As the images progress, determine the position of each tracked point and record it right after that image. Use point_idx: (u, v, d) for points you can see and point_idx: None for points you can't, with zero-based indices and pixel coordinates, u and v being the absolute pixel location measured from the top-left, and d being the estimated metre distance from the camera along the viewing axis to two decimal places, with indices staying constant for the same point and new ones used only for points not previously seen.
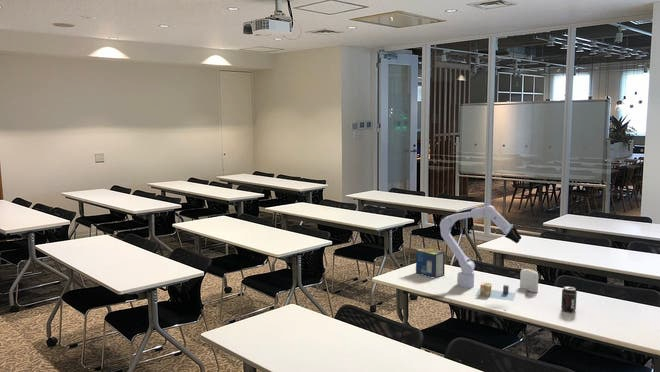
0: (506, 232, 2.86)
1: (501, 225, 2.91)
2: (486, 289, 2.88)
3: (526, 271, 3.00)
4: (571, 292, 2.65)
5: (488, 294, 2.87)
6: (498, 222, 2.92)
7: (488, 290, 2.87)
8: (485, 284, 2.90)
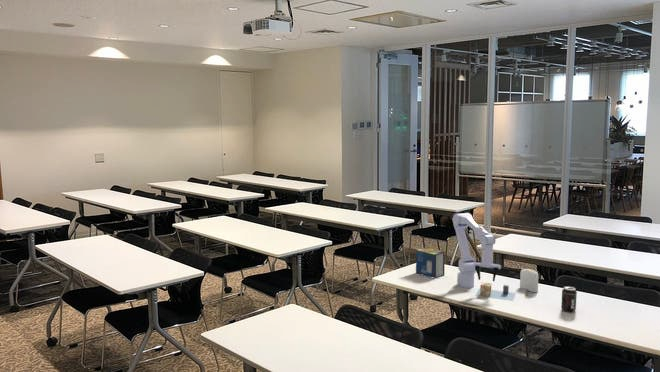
0: (473, 264, 2.92)
1: None
2: (486, 289, 2.88)
3: (526, 271, 3.00)
4: (572, 292, 2.65)
5: (488, 294, 2.87)
6: (482, 254, 2.87)
7: (488, 290, 2.87)
8: (485, 284, 2.90)
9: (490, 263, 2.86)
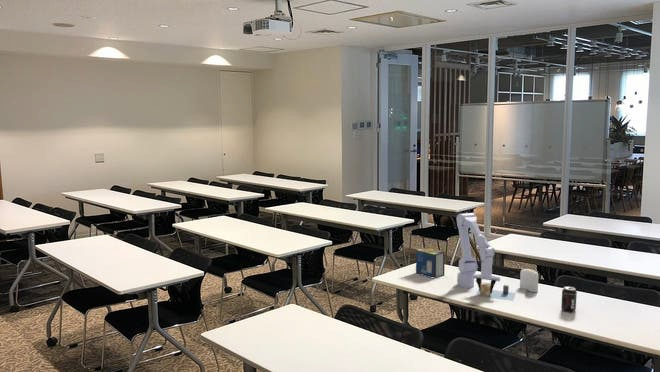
0: (472, 276, 2.92)
1: None
2: (486, 289, 2.88)
3: (526, 271, 3.00)
4: (572, 292, 2.65)
5: (488, 294, 2.87)
6: (482, 266, 2.88)
7: (488, 290, 2.87)
8: (485, 284, 2.90)
9: (489, 275, 2.87)
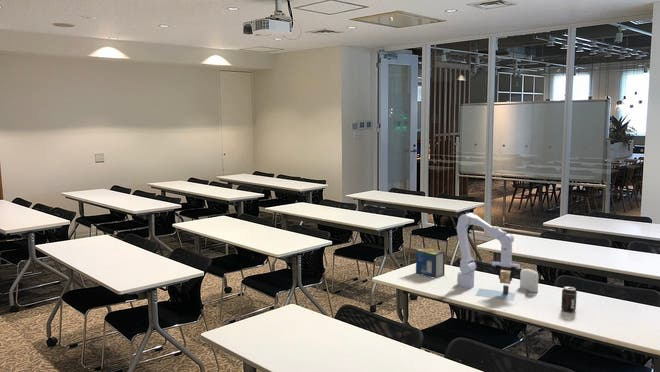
0: (492, 264, 2.93)
1: None
2: (506, 276, 2.88)
3: (526, 271, 3.00)
4: (572, 292, 2.65)
5: (508, 281, 2.88)
6: (503, 254, 2.87)
7: (508, 277, 2.88)
8: (505, 271, 2.90)
9: (509, 263, 2.87)
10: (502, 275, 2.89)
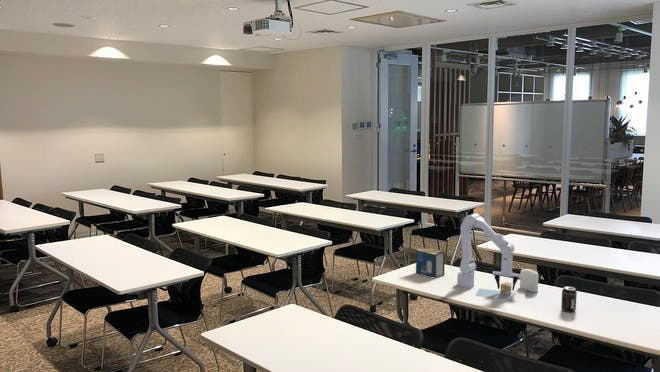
0: None
1: None
2: (506, 288, 2.89)
3: (526, 271, 3.00)
4: (572, 292, 2.65)
5: (508, 293, 2.89)
6: (504, 264, 2.88)
7: (508, 289, 2.88)
8: (505, 283, 2.91)
9: (510, 272, 2.88)
10: (502, 287, 2.90)
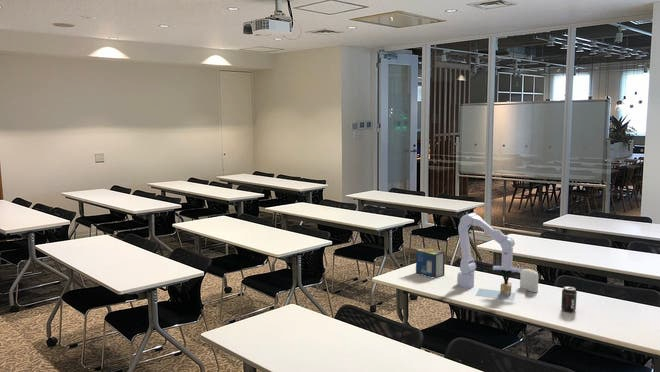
0: (493, 268, 2.93)
1: None
2: (506, 288, 2.89)
3: (526, 271, 3.00)
4: (572, 292, 2.65)
5: (508, 293, 2.89)
6: (504, 258, 2.88)
7: (508, 289, 2.88)
8: None
9: (510, 267, 2.88)
10: (502, 287, 2.90)
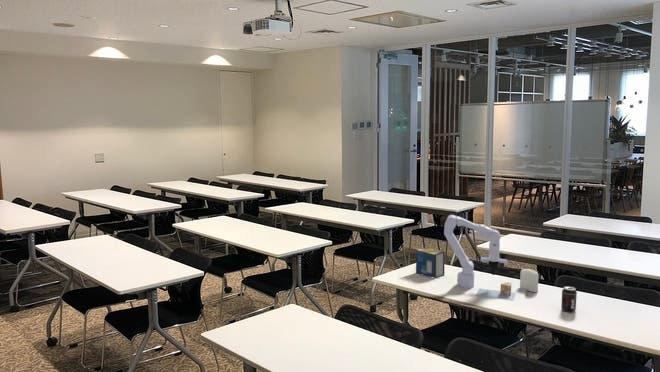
0: None
1: None
2: (506, 288, 2.89)
3: (526, 271, 3.00)
4: (571, 292, 2.65)
5: (508, 293, 2.89)
6: (493, 250, 2.97)
7: (508, 289, 2.88)
8: (505, 283, 2.91)
9: (497, 258, 2.98)
10: (502, 287, 2.90)
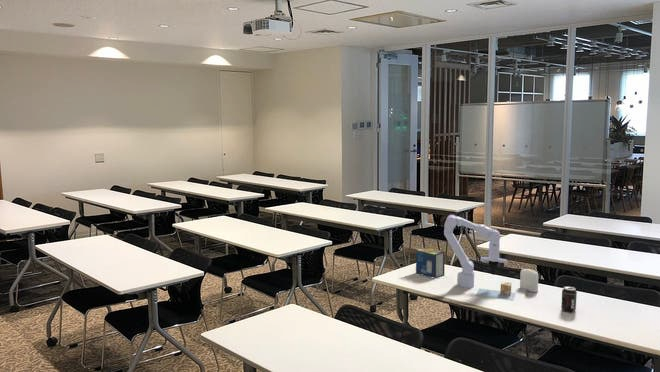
0: None
1: None
2: (506, 288, 2.89)
3: (526, 271, 3.00)
4: (572, 292, 2.65)
5: (508, 293, 2.89)
6: (493, 250, 2.97)
7: (508, 289, 2.88)
8: (505, 283, 2.91)
9: (497, 258, 2.98)
10: (502, 287, 2.90)
